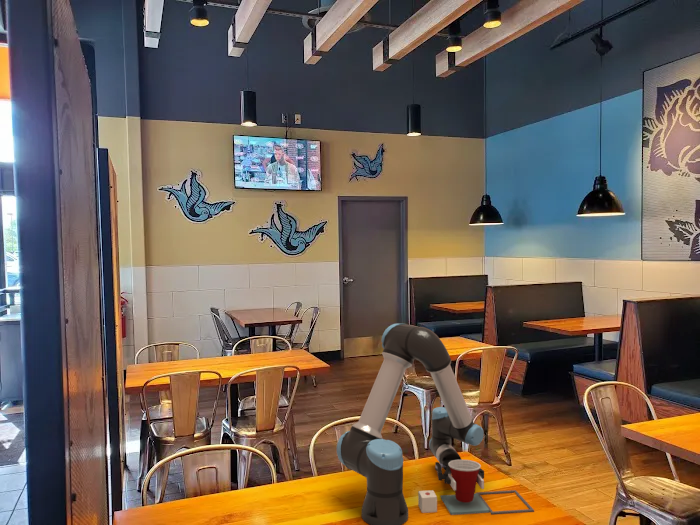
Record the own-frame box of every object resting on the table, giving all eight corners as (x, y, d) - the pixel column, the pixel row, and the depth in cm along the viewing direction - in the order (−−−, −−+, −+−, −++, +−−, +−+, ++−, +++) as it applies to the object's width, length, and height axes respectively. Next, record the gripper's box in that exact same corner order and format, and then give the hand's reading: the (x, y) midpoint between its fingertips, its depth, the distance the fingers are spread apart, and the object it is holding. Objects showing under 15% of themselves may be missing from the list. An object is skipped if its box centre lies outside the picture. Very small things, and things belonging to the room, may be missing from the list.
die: (422, 512, 179) (422, 497, 179) (418, 505, 184) (418, 490, 184) (436, 511, 180) (436, 496, 180) (432, 504, 185) (432, 489, 185)
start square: (491, 514, 178) (491, 512, 178) (476, 493, 193) (476, 492, 192) (534, 511, 180) (534, 510, 180) (515, 491, 194) (515, 490, 194)
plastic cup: (478, 491, 189) (478, 457, 189) (483, 506, 179) (483, 470, 178) (446, 490, 190) (446, 456, 190) (449, 505, 180) (449, 469, 179)
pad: (450, 514, 178) (450, 512, 178) (440, 497, 190) (440, 495, 190) (489, 512, 179) (489, 510, 179) (476, 495, 191) (476, 493, 191)
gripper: (476, 466, 203) (500, 494, 181) (420, 469, 201) (437, 498, 179) (476, 447, 203) (500, 472, 181) (420, 449, 201) (437, 476, 178)
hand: (468, 485), depth 180 cm, fingers closed on plastic cup, 9 cm apart
